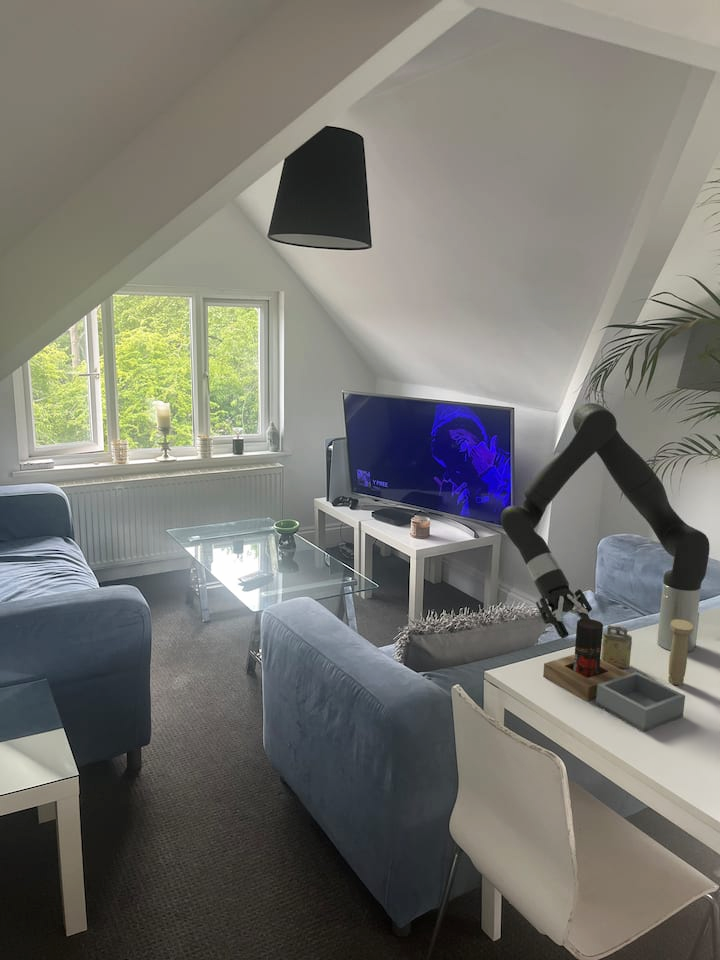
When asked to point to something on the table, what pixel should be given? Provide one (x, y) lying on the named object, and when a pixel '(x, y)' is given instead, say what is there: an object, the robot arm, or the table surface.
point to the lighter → (616, 647)
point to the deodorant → (588, 647)
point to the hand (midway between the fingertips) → (578, 633)
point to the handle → (679, 650)
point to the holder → (579, 677)
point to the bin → (640, 701)
